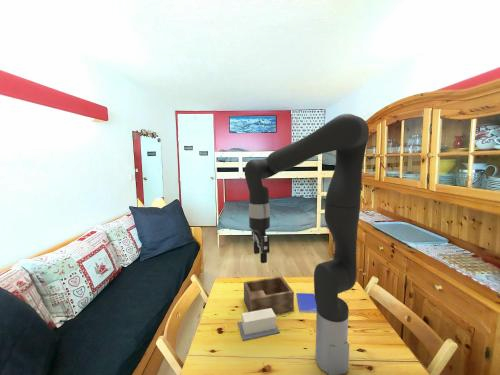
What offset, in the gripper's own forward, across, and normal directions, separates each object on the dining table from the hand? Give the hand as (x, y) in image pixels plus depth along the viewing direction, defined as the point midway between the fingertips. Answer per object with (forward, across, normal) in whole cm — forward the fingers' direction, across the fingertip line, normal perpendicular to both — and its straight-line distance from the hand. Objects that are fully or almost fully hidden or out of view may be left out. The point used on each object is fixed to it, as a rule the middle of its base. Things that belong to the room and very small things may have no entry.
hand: (260, 257), depth 85 cm
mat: (+28, -1, +1) cm, 28 cm away
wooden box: (+28, +11, -6) cm, 30 cm away
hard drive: (+28, +8, -24) cm, 38 cm away
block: (+27, -1, +1) cm, 27 cm away
